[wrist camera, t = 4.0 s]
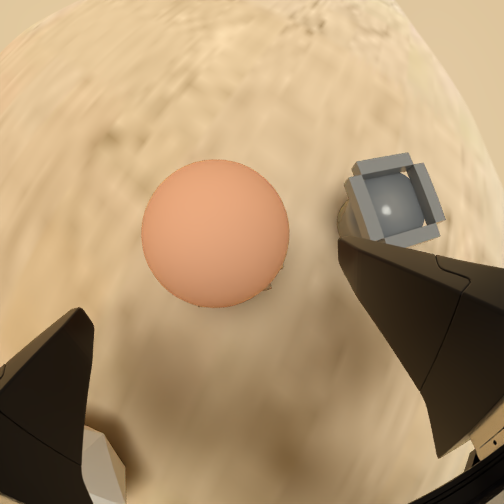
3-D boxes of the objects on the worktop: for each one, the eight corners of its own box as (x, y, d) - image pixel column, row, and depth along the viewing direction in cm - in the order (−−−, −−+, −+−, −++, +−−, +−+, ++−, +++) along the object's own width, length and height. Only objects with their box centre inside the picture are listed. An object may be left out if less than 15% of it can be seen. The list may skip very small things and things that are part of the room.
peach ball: (303, 226, 16) (330, 180, 10) (243, 330, 15) (238, 344, 9) (203, 172, 16) (181, 108, 11) (143, 268, 16) (87, 246, 10)
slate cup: (407, 250, 21) (450, 232, 15) (344, 270, 21) (375, 257, 15) (384, 185, 22) (418, 150, 16) (321, 199, 22) (343, 164, 16)
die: (122, 394, 20) (-8, 387, 12) (176, 502, 15) (29, 529, 7) (91, 439, 22) (-10, 437, 14) (132, 524, 16) (23, 540, 9)
